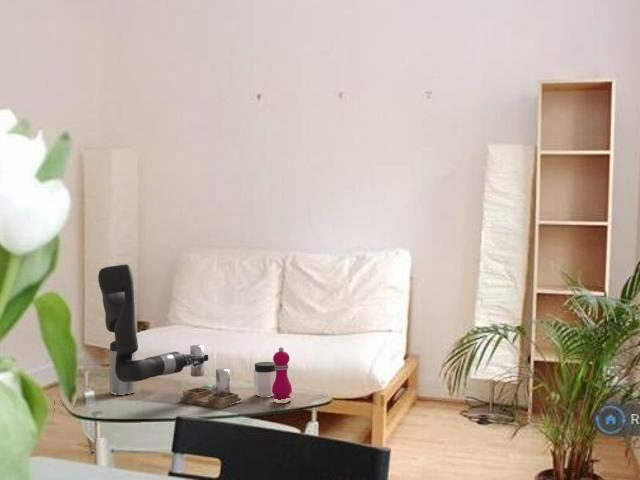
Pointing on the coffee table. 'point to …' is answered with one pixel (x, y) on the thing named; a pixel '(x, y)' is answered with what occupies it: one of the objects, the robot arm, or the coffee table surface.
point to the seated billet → (223, 382)
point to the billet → (199, 369)
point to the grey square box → (211, 388)
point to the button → (208, 386)
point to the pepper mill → (281, 376)
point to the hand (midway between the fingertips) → (202, 356)
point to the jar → (264, 378)
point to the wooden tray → (208, 398)
